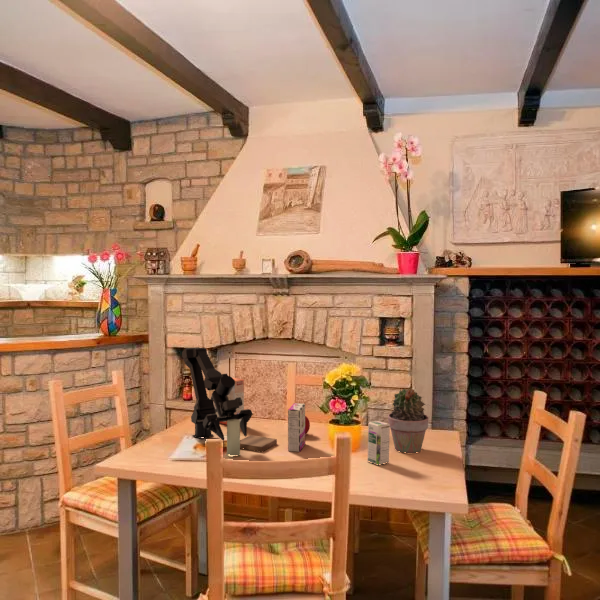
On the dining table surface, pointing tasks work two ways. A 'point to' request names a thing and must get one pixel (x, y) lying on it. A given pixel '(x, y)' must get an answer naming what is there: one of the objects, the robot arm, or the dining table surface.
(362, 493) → the dining table surface
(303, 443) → the candy bar box
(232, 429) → the green blank
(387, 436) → the syrup box
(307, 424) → the apple
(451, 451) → the dining table surface
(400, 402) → the potted plant
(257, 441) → the brown flat square slab
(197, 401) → the robot arm
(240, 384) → the cracker box
